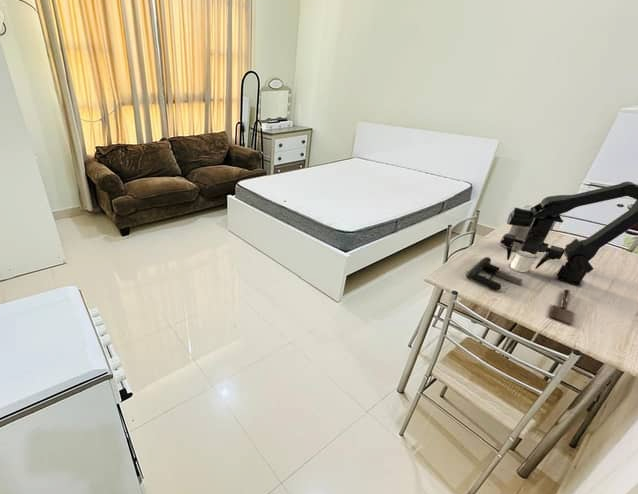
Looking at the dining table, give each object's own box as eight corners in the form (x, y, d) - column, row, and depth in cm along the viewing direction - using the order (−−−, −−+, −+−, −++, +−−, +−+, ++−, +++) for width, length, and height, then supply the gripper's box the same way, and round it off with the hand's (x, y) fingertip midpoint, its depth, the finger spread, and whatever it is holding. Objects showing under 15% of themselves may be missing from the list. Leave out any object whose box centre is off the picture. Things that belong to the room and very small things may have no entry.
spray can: (528, 253, 142) (550, 211, 132) (507, 251, 143) (528, 210, 133) (518, 244, 149) (538, 204, 139) (498, 242, 151) (517, 202, 141)
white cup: (504, 263, 134) (511, 249, 131) (521, 264, 134) (528, 249, 130) (516, 272, 128) (524, 258, 125) (533, 273, 128) (542, 258, 124)
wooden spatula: (574, 295, 115) (577, 292, 115) (569, 324, 102) (572, 321, 101) (556, 289, 118) (558, 286, 118) (549, 317, 105) (552, 313, 104)
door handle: (528, 272, 124) (482, 254, 134) (512, 292, 113) (463, 270, 123) (523, 279, 126) (478, 260, 136) (507, 299, 115) (460, 277, 125)
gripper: (505, 228, 123) (489, 262, 131) (570, 244, 111) (548, 281, 119) (511, 220, 130) (495, 253, 138) (572, 234, 118) (552, 270, 126)
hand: (521, 263), depth 130 cm, fingers open, 9 cm apart
